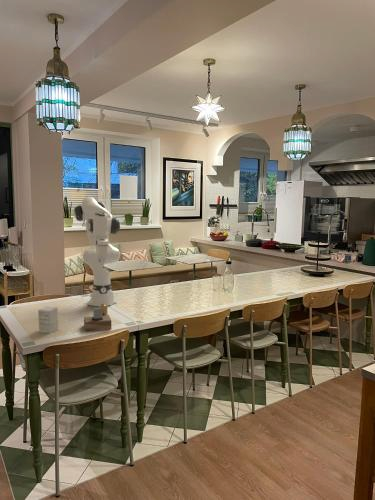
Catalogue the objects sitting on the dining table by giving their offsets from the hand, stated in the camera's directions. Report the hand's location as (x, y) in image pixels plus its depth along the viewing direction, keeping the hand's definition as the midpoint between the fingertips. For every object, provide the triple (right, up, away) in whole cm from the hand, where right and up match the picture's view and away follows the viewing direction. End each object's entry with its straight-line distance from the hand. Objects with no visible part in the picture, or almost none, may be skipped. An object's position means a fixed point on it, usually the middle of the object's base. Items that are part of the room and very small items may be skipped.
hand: (101, 264), depth 223 cm
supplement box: (-25, -36, -15) cm, 47 cm away
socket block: (0, -36, -8) cm, 36 cm away
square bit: (0, -35, -8) cm, 35 cm away
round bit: (+1, -34, +3) cm, 34 cm away
